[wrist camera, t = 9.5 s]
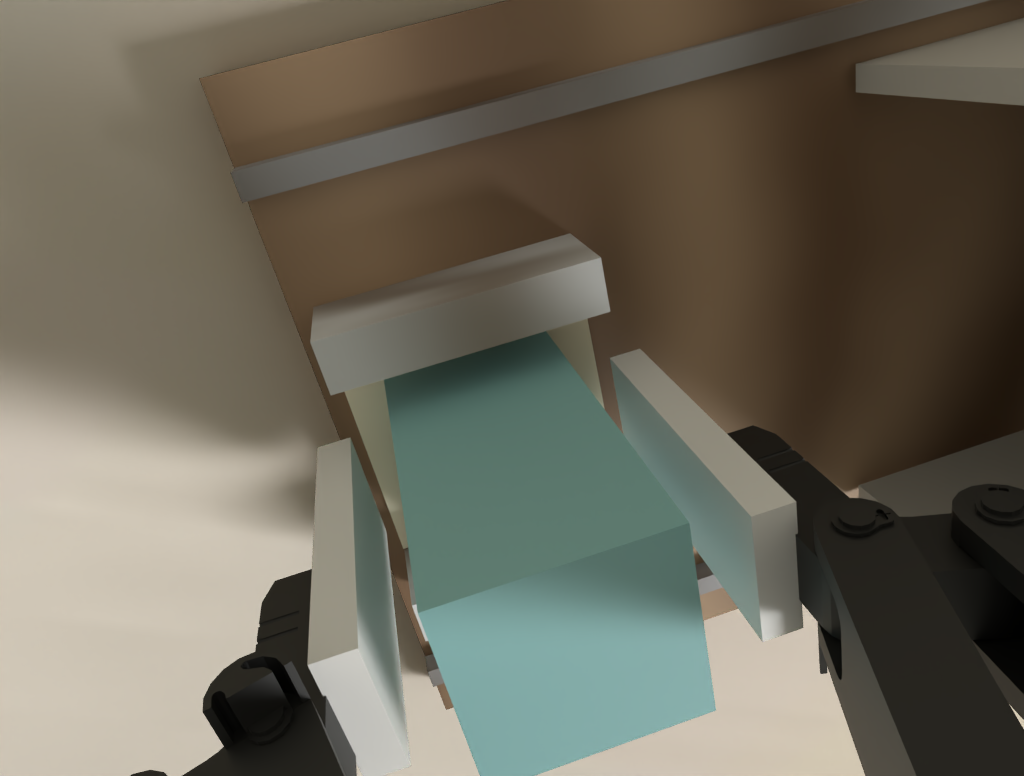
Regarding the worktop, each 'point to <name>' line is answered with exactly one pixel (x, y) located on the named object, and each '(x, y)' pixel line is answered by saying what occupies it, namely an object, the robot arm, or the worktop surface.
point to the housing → (965, 77)
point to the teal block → (543, 561)
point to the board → (650, 220)
